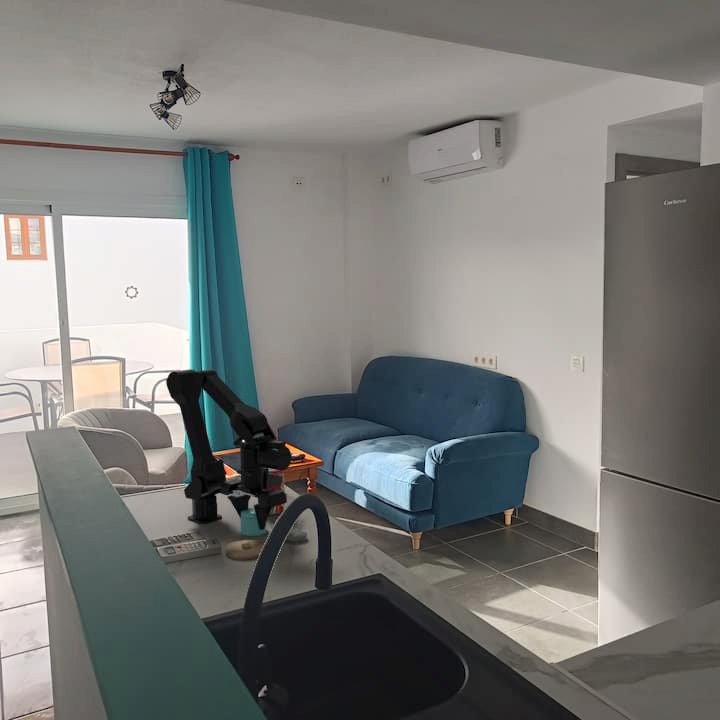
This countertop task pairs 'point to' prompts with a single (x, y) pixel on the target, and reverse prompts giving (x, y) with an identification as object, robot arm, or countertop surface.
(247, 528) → the teal plastic cap
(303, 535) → the gray disc
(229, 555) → the round walnut base
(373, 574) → the countertop surface
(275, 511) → the soda can
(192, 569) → the countertop surface
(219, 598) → the countertop surface
